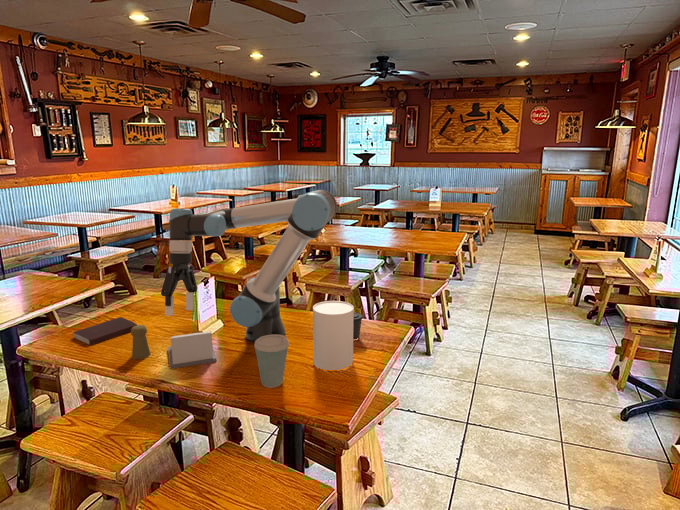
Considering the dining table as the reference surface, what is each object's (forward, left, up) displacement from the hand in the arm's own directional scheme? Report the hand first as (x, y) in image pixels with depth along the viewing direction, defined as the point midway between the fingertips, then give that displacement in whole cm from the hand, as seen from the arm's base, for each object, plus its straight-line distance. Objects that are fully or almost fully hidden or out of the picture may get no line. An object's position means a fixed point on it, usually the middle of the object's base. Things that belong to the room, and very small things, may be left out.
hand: (180, 312), depth 163 cm
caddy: (-4, +3, -15) cm, 15 cm away
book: (+36, -14, -15) cm, 42 cm away
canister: (-55, +6, -15) cm, 57 cm away
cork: (+13, +4, -15) cm, 20 cm away
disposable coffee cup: (-37, +21, -15) cm, 45 cm away
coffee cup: (-61, -15, -15) cm, 64 cm away
